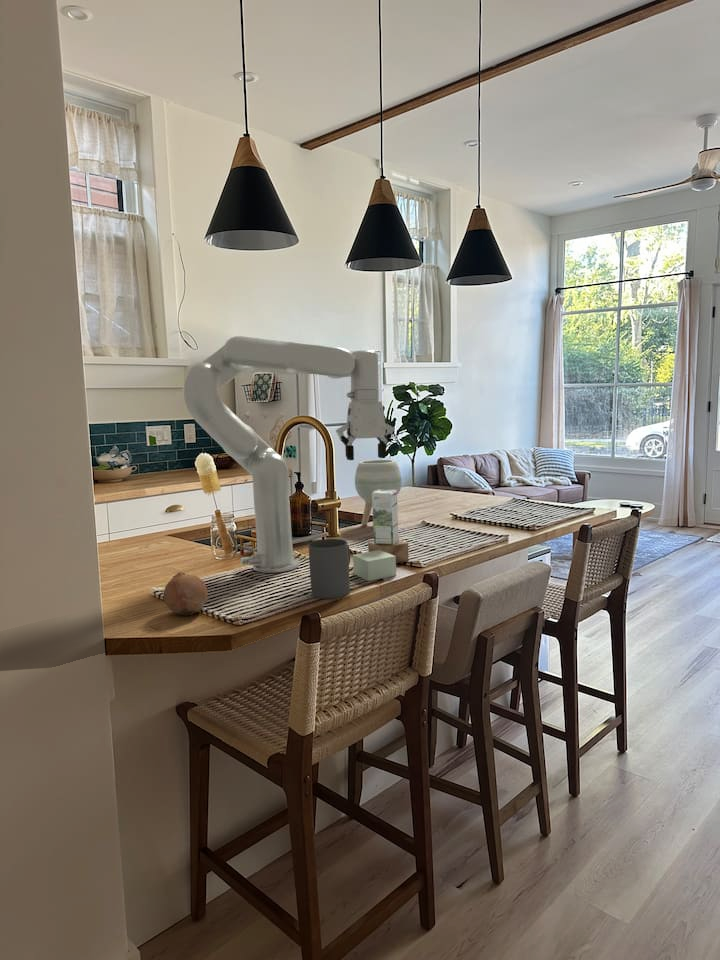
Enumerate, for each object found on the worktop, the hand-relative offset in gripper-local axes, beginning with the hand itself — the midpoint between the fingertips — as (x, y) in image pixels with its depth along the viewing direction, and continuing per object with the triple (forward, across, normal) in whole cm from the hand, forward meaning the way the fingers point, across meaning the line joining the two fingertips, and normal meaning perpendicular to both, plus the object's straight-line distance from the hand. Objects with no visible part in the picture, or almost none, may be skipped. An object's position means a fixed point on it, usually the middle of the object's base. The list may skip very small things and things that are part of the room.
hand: (366, 458), depth 181 cm
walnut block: (+28, +3, -6) cm, 29 cm away
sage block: (+28, -6, -17) cm, 33 cm away
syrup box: (+23, +3, -6) cm, 24 cm away
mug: (+29, -20, -23) cm, 42 cm away
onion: (+30, -54, -20) cm, 65 cm away
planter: (+28, +23, +38) cm, 52 cm away
